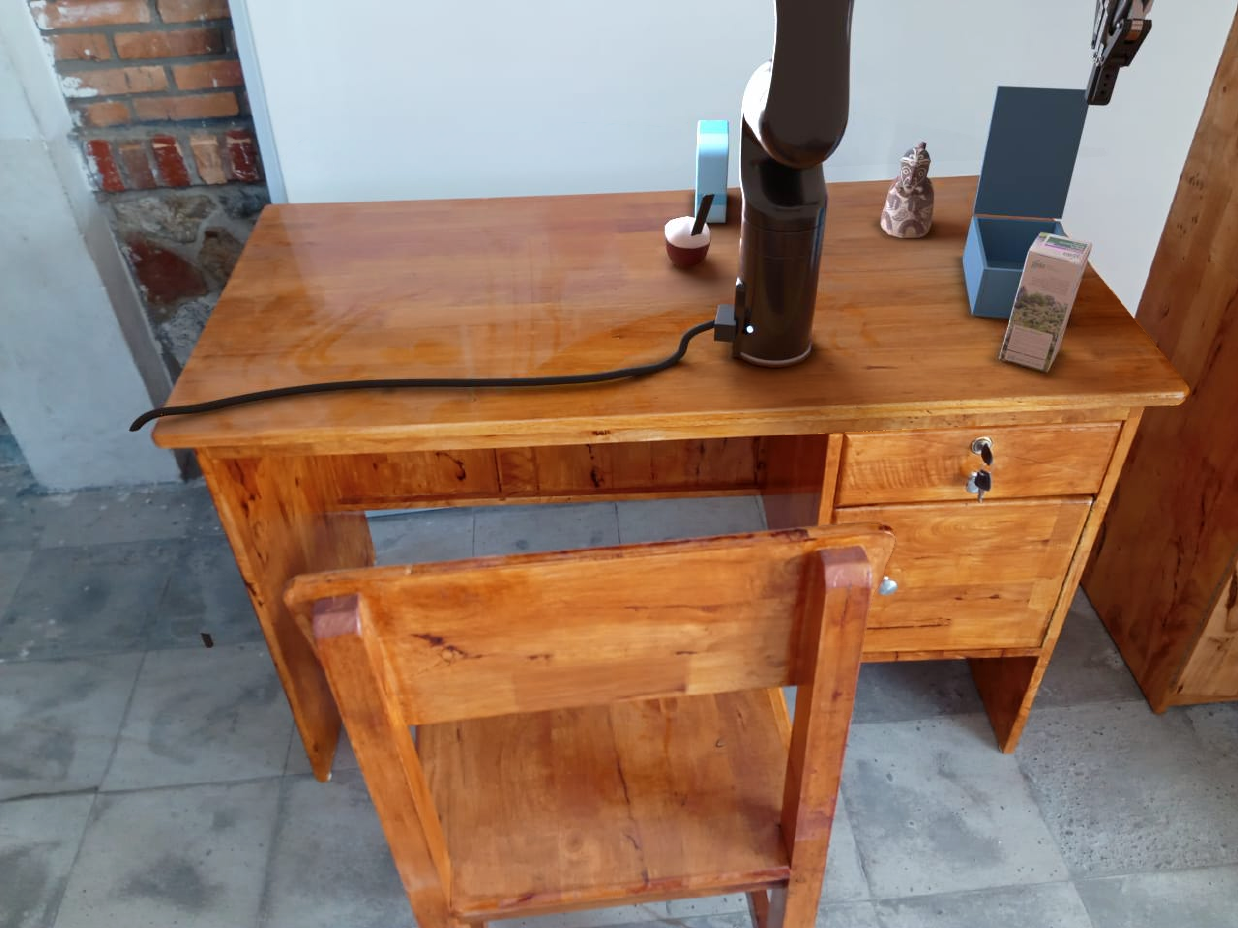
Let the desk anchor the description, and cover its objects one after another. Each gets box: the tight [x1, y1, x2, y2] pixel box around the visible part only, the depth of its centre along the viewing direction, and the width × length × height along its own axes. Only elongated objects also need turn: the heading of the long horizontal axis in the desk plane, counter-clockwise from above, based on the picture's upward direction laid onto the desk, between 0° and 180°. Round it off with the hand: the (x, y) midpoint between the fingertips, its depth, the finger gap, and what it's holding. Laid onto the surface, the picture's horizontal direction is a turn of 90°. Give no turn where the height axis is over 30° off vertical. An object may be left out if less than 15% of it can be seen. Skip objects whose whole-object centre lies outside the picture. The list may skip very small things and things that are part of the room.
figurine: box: [880, 141, 935, 239], centre depth 137 cm, size 7×7×12 cm
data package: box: [694, 120, 730, 224], centre depth 143 cm, size 12×4×12 cm, turn 175°
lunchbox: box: [962, 215, 1067, 320], centre depth 124 cm, size 15×11×7 cm
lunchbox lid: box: [972, 85, 1090, 220], centre depth 123 cm, size 16×11×1 cm
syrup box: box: [998, 232, 1093, 374], centre depth 109 cm, size 6×6×14 cm
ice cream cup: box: [664, 194, 715, 268], centre depth 130 cm, size 10×6×12 cm, turn 2°
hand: (1096, 103), depth 97 cm, fingers closed
